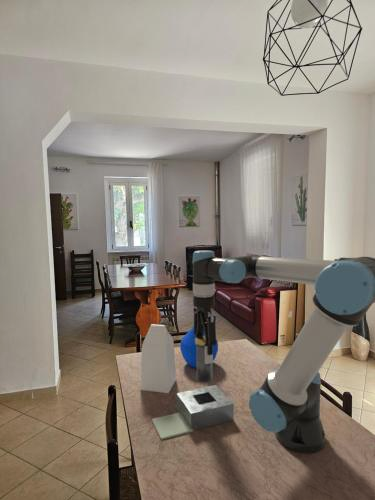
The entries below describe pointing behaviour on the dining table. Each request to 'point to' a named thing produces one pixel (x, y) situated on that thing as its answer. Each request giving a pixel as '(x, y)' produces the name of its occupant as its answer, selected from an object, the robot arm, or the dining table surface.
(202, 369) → the grey and gold cylinder
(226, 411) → the housing
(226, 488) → the dining table surface
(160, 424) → the mat
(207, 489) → the dining table surface
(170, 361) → the milk
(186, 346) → the vase
